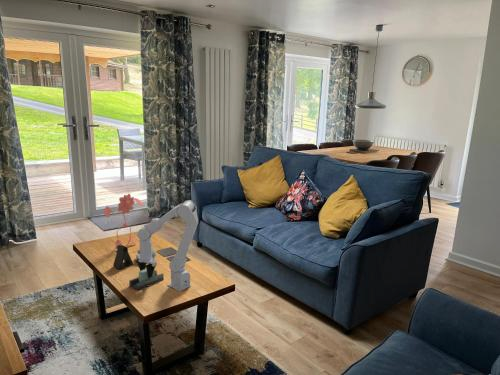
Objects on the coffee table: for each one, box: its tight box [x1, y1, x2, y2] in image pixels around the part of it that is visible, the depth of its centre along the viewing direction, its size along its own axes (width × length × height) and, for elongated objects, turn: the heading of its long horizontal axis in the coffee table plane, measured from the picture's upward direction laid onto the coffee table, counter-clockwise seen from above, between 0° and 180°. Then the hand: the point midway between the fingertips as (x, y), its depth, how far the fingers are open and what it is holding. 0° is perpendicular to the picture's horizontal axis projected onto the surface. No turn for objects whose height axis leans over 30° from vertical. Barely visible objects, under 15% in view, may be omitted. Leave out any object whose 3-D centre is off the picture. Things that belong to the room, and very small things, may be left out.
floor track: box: [128, 269, 165, 291], centre depth 193 cm, size 7×16×3 cm, turn 141°
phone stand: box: [112, 244, 134, 271], centre depth 210 cm, size 9×6×12 cm, turn 141°
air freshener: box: [137, 241, 157, 259], centre depth 221 cm, size 11×8×10 cm
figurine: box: [103, 193, 145, 253], centre depth 231 cm, size 15×26×35 cm, turn 145°
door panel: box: [138, 268, 156, 283], centre depth 192 cm, size 2×8×6 cm, turn 140°
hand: (146, 275), depth 192 cm, fingers open, 5 cm apart
